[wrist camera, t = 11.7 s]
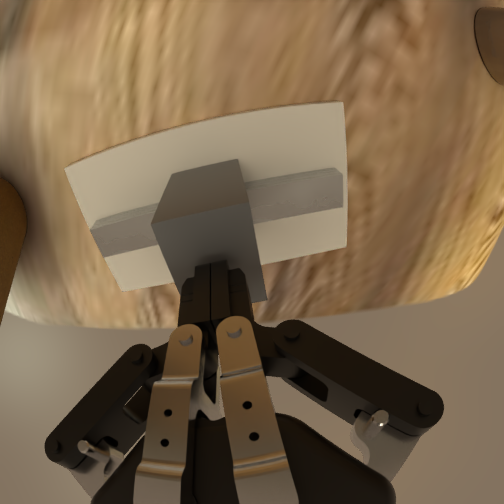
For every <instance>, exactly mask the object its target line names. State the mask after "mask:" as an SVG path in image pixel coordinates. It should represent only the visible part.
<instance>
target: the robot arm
mask: <svg viewBox="0 0 504 504" xmlns="http://www.w3.org/2000/svg"><path fill="white" fill-rule="evenodd" d="M475 32H476V39H477V44H478V47H479V50H480V54H481V56H482V59H483V61H484V63H485V65H486V67H487V69H488V71H489V72H490V74H491V75H492V77H493V78H494V79H495V80H496V81H497V82H498V83H500V84H502V85H504V8H495V7H483V8H481V9H479V10H478V12H477V14H476V18H475ZM218 355H219V358H220V365H221V372H222V376H220V367H219V365H218ZM266 376H274V377H281V378H282V379H283V380H284V381H285V382H287V383H288V384H289V385H291V386H292V387H294V388H295V389H297V390H298V391H300V392H301V393H303V394H304V395H306V396H307V397H309V398H310V399H312V400H313V401H315V402H317V403H318V404H319V405H321V406H322V407H324V408H326V409H327V410H329V411H330V412H332V413H334V414H335V415H337V416H338V417H340V418H342V419H343V420H345V421H346V422H348V423H350V424H351V425H353V427H352V429H351V432H350V437H351V441H352V443H353V444H354V445H355V446H356V447H357V448H358V449H359V450H360V451H361V453H362V454H363V458H364V462H363V463H362V462H360V461H359V460H357V459H356V458H354V457H353V456H351V455H350V454H348V453H347V452H345V451H344V450H342V449H341V448H339V447H338V446H336V445H334V444H333V443H332V442H330V441H329V440H327V439H326V438H325V437H323V436H322V435H320V434H319V433H318V432H316V431H315V430H314V429H312V428H311V427H309V426H308V425H307V424H305V423H304V422H302V421H301V420H299V419H297V418H295V417H292V416H289V415H286V414H281V413H276V412H275V409H274V405H273V402H272V398H271V394H270V391H269V387H268V383H267V380H266ZM141 386H142V387H141ZM140 387H141V388H140ZM220 387H221V394H222V400H223V407H224V412H225V417H223V418H222V416H221V412H220V407H219V397H220ZM139 388H140V390H138V389H139ZM137 390H138V392H137V393H136V394H135V392H136V391H137ZM134 394H135V395H134ZM133 395H134V396H133ZM132 396H133V397H132ZM131 397H132V398H131ZM130 398H131V399H130ZM129 399H130V401H129V402H128V403H127V401H128V400H129ZM126 403H127V404H126ZM125 404H126V405H125ZM124 405H125V406H124ZM443 411H444V404H443V401H442V398H441V397H440V396H439V394H437V393H436V392H435V391H433V390H430V389H428V388H427V387H425V386H423V385H420V384H418V383H417V382H415V381H413V380H411V379H409V378H407V377H405V376H403V375H401V374H399V373H397V372H395V371H393V370H391V369H389V368H387V367H385V366H383V365H381V364H380V363H378V362H375V361H374V360H372V359H370V358H368V357H366V356H364V355H362V354H361V353H359V352H357V351H355V350H353V349H351V348H349V347H348V346H346V345H344V344H342V343H340V342H339V341H337V340H335V339H333V338H331V337H329V336H328V335H326V334H324V333H322V332H320V331H318V330H317V329H315V328H313V327H311V326H310V325H308V324H306V323H304V322H302V321H300V320H287V321H284V322H282V323H280V324H279V325H278V326H277V327H276V328H272V327H264V326H261V325H259V324H257V323H256V322H255V321H254V315H253V309H252V303H251V297H250V293H249V288H248V284H247V280H246V276H245V274H244V272H243V271H242V270H241V269H240V268H236V269H231V270H230V268H229V265H228V261H227V259H226V260H221V261H216V262H211V263H207V264H202V265H197V266H195V273H194V277H191V278H187V279H186V281H185V282H184V284H183V285H182V289H181V298H180V307H179V317H178V328H176V329H175V330H174V331H173V332H172V333H171V335H170V338H169V341H168V342H167V343H165V344H163V345H161V346H159V347H156V348H154V349H151V348H150V347H149V346H147V345H145V344H137V345H134V346H132V347H130V348H129V349H128V350H127V351H126V352H125V353H124V354H123V355H122V356H121V358H119V360H118V361H117V362H116V363H115V364H114V365H113V366H112V367H111V368H110V369H109V370H108V371H107V372H106V373H105V374H104V376H103V377H102V378H101V379H100V380H99V381H98V382H97V383H96V384H95V385H94V386H93V387H92V388H91V389H90V391H89V392H88V393H87V394H86V395H85V396H84V397H83V398H82V399H81V400H80V401H79V403H78V404H77V405H76V406H75V407H74V408H73V409H72V410H71V411H70V412H69V414H68V415H67V416H66V417H65V418H64V419H63V420H62V421H61V422H60V424H59V425H58V426H57V427H56V428H55V429H54V430H53V431H52V432H51V434H50V435H49V436H48V437H47V439H46V441H45V453H46V455H47V457H48V458H49V459H50V460H51V461H53V462H55V463H57V464H59V465H61V466H63V467H65V468H67V469H68V470H69V471H70V472H71V473H72V475H73V476H74V477H75V479H76V480H77V481H78V482H79V484H80V485H81V486H82V487H83V489H84V490H85V491H86V492H87V493H88V495H89V496H90V497H91V498H92V500H91V504H396V495H395V491H394V488H393V486H392V484H391V483H390V482H391V481H392V480H393V478H394V477H395V475H396V474H397V473H398V471H399V470H400V468H401V467H402V465H403V464H404V462H405V461H406V459H407V458H408V456H409V455H410V453H411V452H412V450H413V448H414V447H415V445H416V443H417V442H418V440H419V438H420V437H421V436H422V435H423V434H424V433H425V432H427V431H428V430H429V429H430V428H432V427H433V426H434V425H435V424H436V423H437V422H438V421H439V420H440V419H441V417H442V415H443ZM145 431H146V432H145ZM144 432H145V435H144V436H143V437H142V438H141V439H140V441H139V442H138V443H137V444H136V445H135V447H134V448H133V449H132V450H131V452H130V453H129V454H128V455H127V457H126V458H125V459H124V455H125V454H126V453H127V452H128V451H129V449H130V448H131V447H132V446H133V445H134V444H135V443H136V441H137V440H138V439H139V438H140V437H141V435H142V434H143V433H144Z"/></svg>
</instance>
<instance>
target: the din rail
mask: <svg viewBox="0 0 504 504" xmlns="http://www.w3.org/2000/svg"><path fill="white" fill-rule="evenodd" d="M244 184H245V188H246V192H247V195H248V199H249V203H250V208H251V214H252V219H253V224H257V223H262V222H267V221H272V220H277V219H282V218H288V217H293V216H298V215H303V214H309V213H314V212H319V211H325V210H330V209H336V208H341V207H343V174H342V173H341V172H339V171H338V170H337V169H336V168H335V167H334V168H327V169H320V170H314V171H307V172H301V173H295V174H289V175H283V176H277V177H271V178H266V179H261V180H255V181H250V182H245V183H244ZM158 204H159V202H158V203H154V204H151V205H147V206H143V207H140V208H136V209H132V210H129V211H125V212H122V213H119V214H115V215H112V216H108V217H105V218H102V219H99V220H96V222H95V223H94V225H93V226H92V228H91V229H90V231H91V234H92V236H93V238H94V240H95V242H96V244H97V246H98V248H99V250H100V252H101V254H102V256H103V258H105V257H109V256H113V255H117V254H121V253H125V252H129V251H134V250H138V249H142V248H146V247H151V246H155V245H159V244H158V242H157V240H156V237H155V234H154V232H153V229H152V227H151V222H152V219H153V217H154V214H155V212H156V209H157V207H158Z"/></svg>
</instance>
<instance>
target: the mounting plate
mask: <svg viewBox="0 0 504 504" xmlns="http://www.w3.org/2000/svg"><path fill="white" fill-rule="evenodd" d="M234 159H238V162H239V165H240V169H241V173H242V177H243V180H244V183H245V182H250V181H255V180H261V179H266V178H271V177H277V176H283V175H289V174H295V173H301V172H307V171H314V170H320V169H327V168H334V167H335V168H336V169H337V170H338V171H339V172H341V173H342V174H343V207H341V208H336V209H330V210H325V211H319V212H314V213H309V214H303V215H298V216H293V217H288V218H282V219H277V220H272V221H267V222H262V223H257V224H253V225H254V230H255V235H256V241H257V246H258V252H259V257H260V263H261V265H264V264H268V263H273V262H278V261H283V260H288V259H292V258H297V257H302V256H307V255H311V254H316V253H321V252H325V251H330V250H335V249H339V248H344V247H346V246H347V207H348V190H347V151H346V132H345V118H344V106H343V102H340V101H326V102H313V103H302V104H292V105H284V106H276V107H269V108H262V109H256V110H250V111H244V112H238V113H233V114H228V115H223V116H218V117H213V118H209V119H204V120H200V121H196V122H192V123H188V124H184V125H180V126H176V127H173V128H169V129H166V130H162V131H159V132H155V133H152V134H149V135H146V136H143V137H139V138H136V139H133V140H130V141H128V142H125V143H122V144H119V145H116V146H114V147H111V148H108V149H105V150H103V151H100V152H98V153H95V154H93V155H90V156H88V157H85V158H83V159H81V160H78V161H76V162H74V163H71V164H70V165H68V166H67V167H65V168H64V169H65V172H66V175H67V177H68V180H69V183H70V185H71V188H72V190H73V193H74V195H75V198H76V200H77V202H78V205H79V207H80V209H81V212H82V214H83V216H84V218H85V220H86V223H87V225H88V227H89V229H91V228H92V226H93V225H94V223H95V222H96V220H99V219H102V218H105V217H108V216H112V215H115V214H119V213H122V212H125V211H129V210H132V209H136V208H140V207H143V206H147V205H151V204H154V203H158V202H160V200H161V197H162V195H163V193H164V190H165V188H166V186H167V183H168V181H169V179H170V177H171V174H173V173H177V172H181V171H185V170H189V169H193V168H197V167H201V166H206V165H210V164H215V163H219V162H224V161H229V160H234ZM104 259H105V261H106V263H107V265H108V267H109V269H110V271H111V272H112V274H113V276H114V278H115V280H116V281H117V283H118V285H119V287H120V288H121V290H122V292H125V291H131V290H136V289H142V288H147V287H152V286H157V285H163V284H168V283H173V282H174V280H173V278H172V276H171V273H170V271H169V269H168V266H167V264H166V261H165V259H164V257H163V254H162V252H161V249H160V247H159V245H155V246H151V247H146V248H142V249H138V250H134V251H129V252H125V253H121V254H117V255H113V256H109V257H105V258H104Z"/></svg>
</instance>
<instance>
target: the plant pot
mask: <svg viewBox="0 0 504 504" xmlns="http://www.w3.org/2000/svg"><path fill="white" fill-rule="evenodd" d="M26 230H27V216H26V211H25V208H24V205H23V202H22V200H21V198H20V196H19V194H18V193H17V191H16V190H15V188H14V187H13V186H12V185H11V184H10V183H9V182H7V181H6V180H4V179H2V178H0V325H1V321H2V318H3V314H4V310H5V307H6V303H7V299H8V296H9V292H10V289H11V285H12V281H13V278H14V274H15V271H16V267H17V264H18V260H19V256H20V253H21V249H22V245H23V242H24V238H25V234H26Z"/></svg>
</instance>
